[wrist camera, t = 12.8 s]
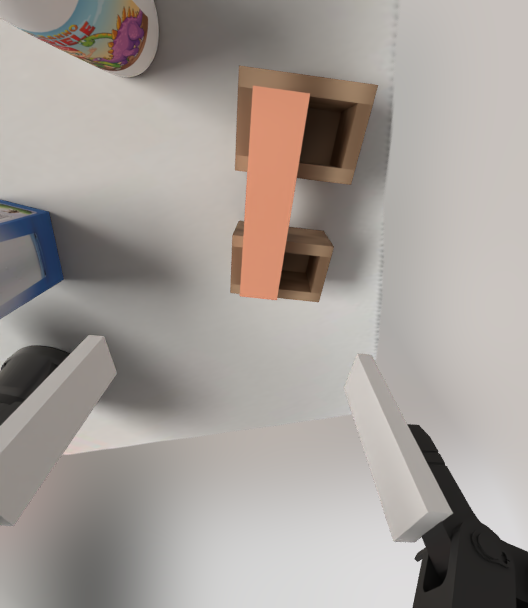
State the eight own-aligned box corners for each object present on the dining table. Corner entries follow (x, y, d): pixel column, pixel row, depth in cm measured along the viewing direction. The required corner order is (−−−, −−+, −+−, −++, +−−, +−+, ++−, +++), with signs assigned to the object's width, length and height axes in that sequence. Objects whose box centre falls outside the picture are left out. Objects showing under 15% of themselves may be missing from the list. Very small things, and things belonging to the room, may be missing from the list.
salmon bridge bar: (275, 271, 32) (276, 300, 26) (245, 268, 32) (239, 296, 26) (299, 108, 23) (310, 93, 17) (257, 102, 23) (252, 85, 17)
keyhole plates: (236, 271, 34) (230, 292, 29) (245, 83, 23) (239, 65, 18) (311, 279, 34) (318, 302, 29) (355, 99, 24) (378, 85, 19)
